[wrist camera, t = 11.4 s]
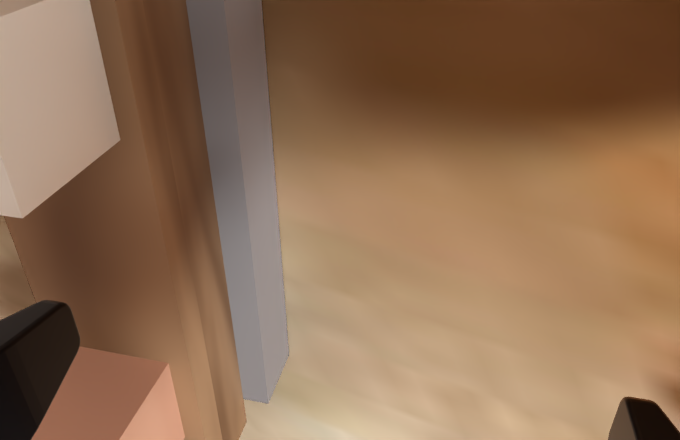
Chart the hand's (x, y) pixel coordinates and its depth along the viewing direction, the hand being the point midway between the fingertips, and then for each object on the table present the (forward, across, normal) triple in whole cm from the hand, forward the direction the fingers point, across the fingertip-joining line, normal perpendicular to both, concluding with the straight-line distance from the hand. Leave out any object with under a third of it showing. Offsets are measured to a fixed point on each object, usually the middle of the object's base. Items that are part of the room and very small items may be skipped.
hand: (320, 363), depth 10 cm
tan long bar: (+10, +9, +4) cm, 14 cm away
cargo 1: (+6, +9, -2) cm, 12 cm away
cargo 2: (+6, +10, +10) cm, 16 cm away
